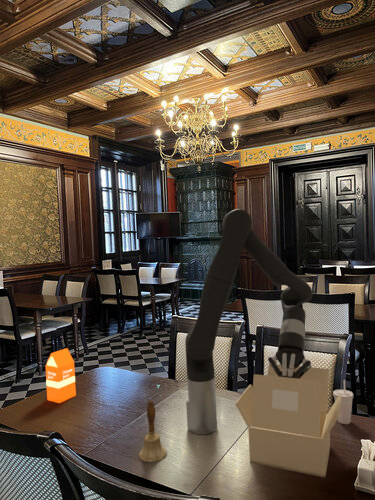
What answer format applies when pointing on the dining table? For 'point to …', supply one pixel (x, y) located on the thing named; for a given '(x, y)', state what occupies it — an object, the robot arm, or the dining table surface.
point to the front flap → (286, 405)
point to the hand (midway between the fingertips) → (286, 390)
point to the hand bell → (152, 440)
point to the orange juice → (60, 376)
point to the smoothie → (344, 404)
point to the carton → (289, 444)
